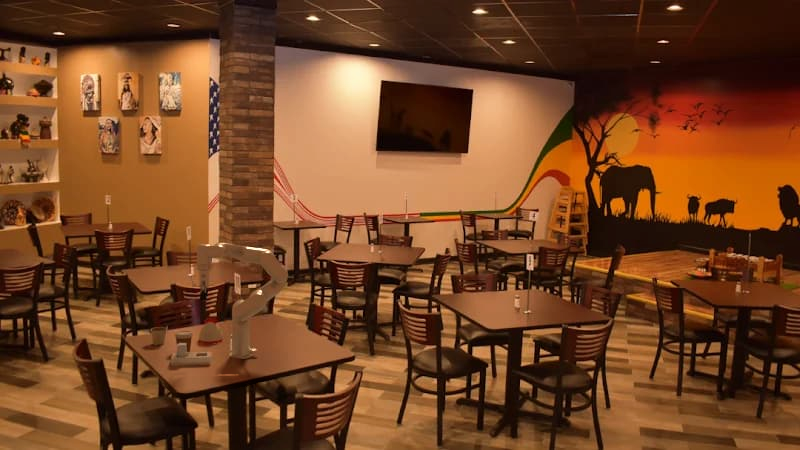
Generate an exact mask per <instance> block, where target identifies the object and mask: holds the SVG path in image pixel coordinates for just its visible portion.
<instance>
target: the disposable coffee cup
mask: <svg viewBox="0 0 800 450" xmlns="http://www.w3.org/2000/svg"><path fill="white" fill-rule="evenodd" d="M174 337H175V340H176V341H175V343H176V345H177V344H179V343H187V352H191V345H192V338H193V332H192V331H191V330H179V331H176V332H175V334H174ZM176 351H177V352H178V350H177V349H176Z"/></svg>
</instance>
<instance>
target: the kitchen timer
mask: <svg viewBox="0 0 800 450" xmlns="http://www.w3.org/2000/svg"><path fill="white" fill-rule="evenodd" d="M213 317H214V318H213ZM218 321H219V318H218V319H217V317H216V316H210V315H209V316H208V317H206V319H204V324H203V326H202V327H201V330H200V332H199V335H198V343H199V344H202V345H203V344H204V345H215V344H214V343H216V344H219V343H218V342H220V343H222V342H223V341H222V340H223V339H224V338H223V333H222V330H221V327H220V326H219V325H218V324H217V322H218ZM221 341H222V342H221Z"/></svg>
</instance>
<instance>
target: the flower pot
mask: <svg viewBox="0 0 800 450" xmlns="http://www.w3.org/2000/svg"><path fill="white" fill-rule="evenodd" d="M167 330H168V328H167V327H164V326H161V327H160V326H159V327H157V326H156V327H152V328H150V330H149V331H150V334H151V339H152V344H153V345H155V346H157V345H159V346H160V345H164V344H165V339H166V334H167Z"/></svg>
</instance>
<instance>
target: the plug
mask: <svg viewBox="0 0 800 450" xmlns="http://www.w3.org/2000/svg"><path fill="white" fill-rule="evenodd" d="M177 350H178V351H177ZM176 351H177V352H178V357H187V343H179V344H177V343H176Z"/></svg>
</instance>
